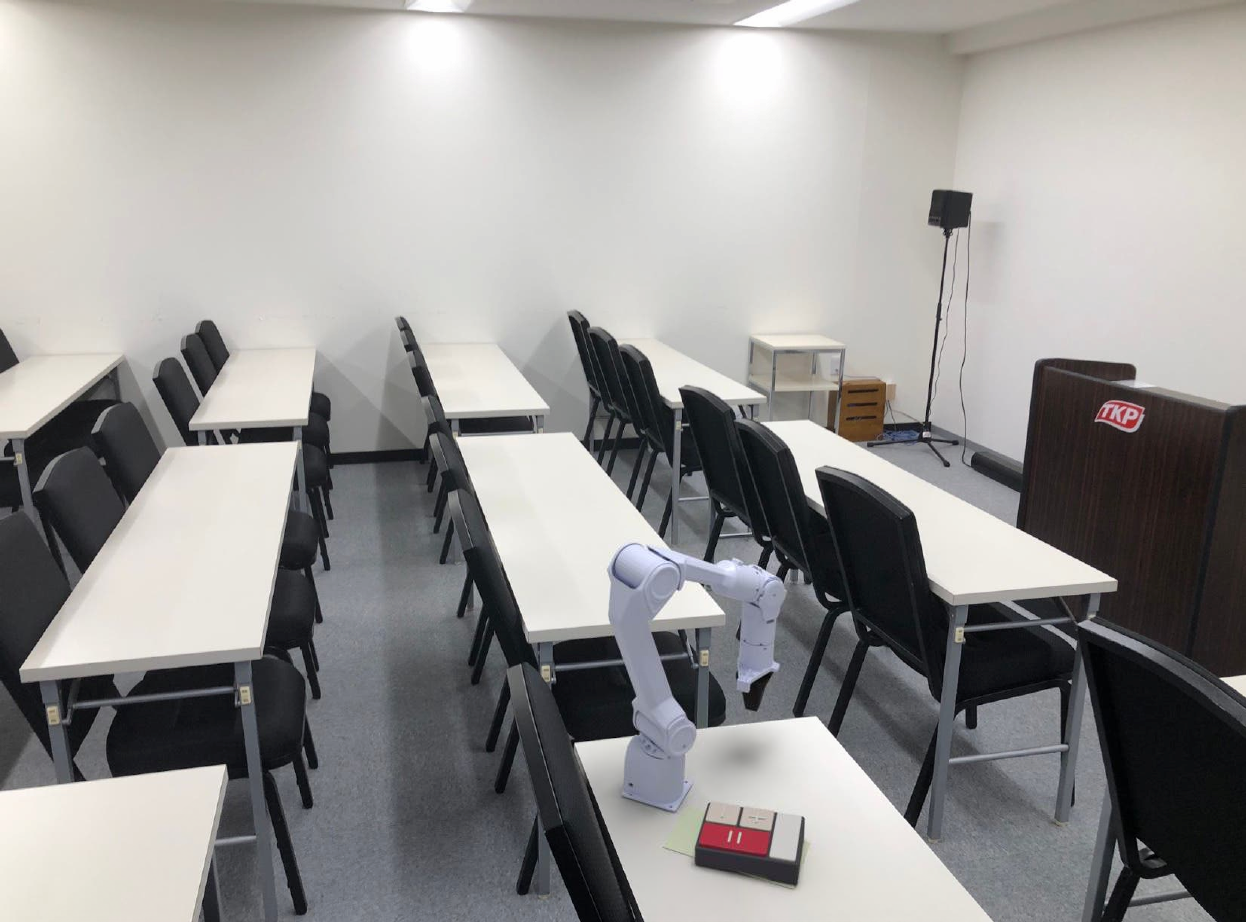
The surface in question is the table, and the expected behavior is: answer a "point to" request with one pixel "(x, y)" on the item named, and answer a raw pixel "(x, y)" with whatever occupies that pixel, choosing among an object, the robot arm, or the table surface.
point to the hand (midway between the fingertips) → (752, 708)
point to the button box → (751, 841)
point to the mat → (687, 835)
